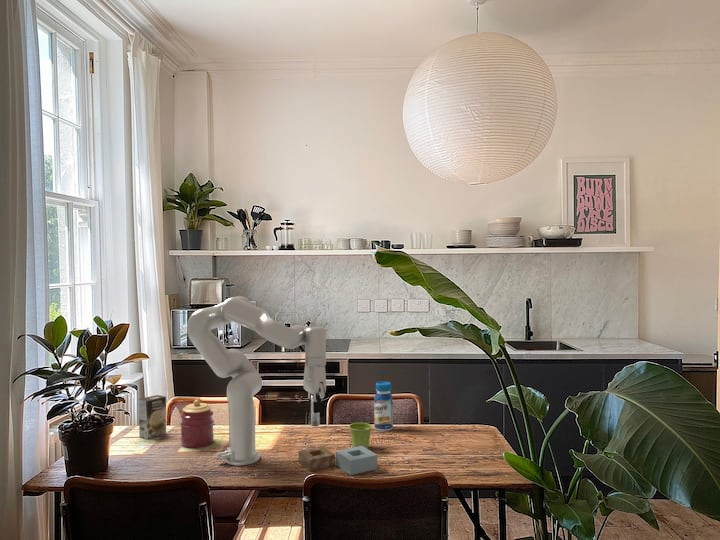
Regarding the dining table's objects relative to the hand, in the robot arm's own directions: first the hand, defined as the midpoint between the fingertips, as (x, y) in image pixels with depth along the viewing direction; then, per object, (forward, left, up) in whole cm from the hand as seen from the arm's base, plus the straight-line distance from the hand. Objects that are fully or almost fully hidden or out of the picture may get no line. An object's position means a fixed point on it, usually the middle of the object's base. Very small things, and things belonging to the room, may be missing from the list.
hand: (315, 410), depth 197 cm
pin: (0, 0, -5) cm, 5 cm away
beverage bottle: (+43, +22, -20) cm, 52 cm away
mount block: (0, 0, -20) cm, 20 cm away
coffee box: (-46, +66, -20) cm, 83 cm away
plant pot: (+22, +6, -20) cm, 30 cm away
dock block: (+11, -10, -20) cm, 25 cm away
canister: (-32, +46, -20) cm, 59 cm away
